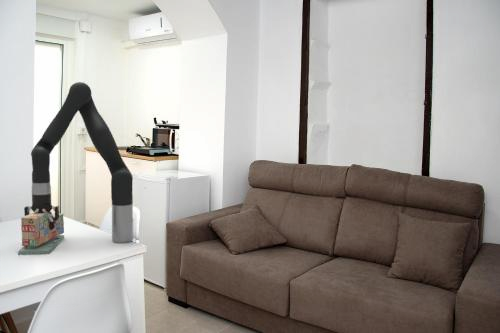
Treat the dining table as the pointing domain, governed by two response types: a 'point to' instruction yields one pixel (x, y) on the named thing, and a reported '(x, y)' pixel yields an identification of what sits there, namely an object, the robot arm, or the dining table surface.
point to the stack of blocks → (39, 228)
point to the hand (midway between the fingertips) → (42, 229)
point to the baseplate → (42, 247)
